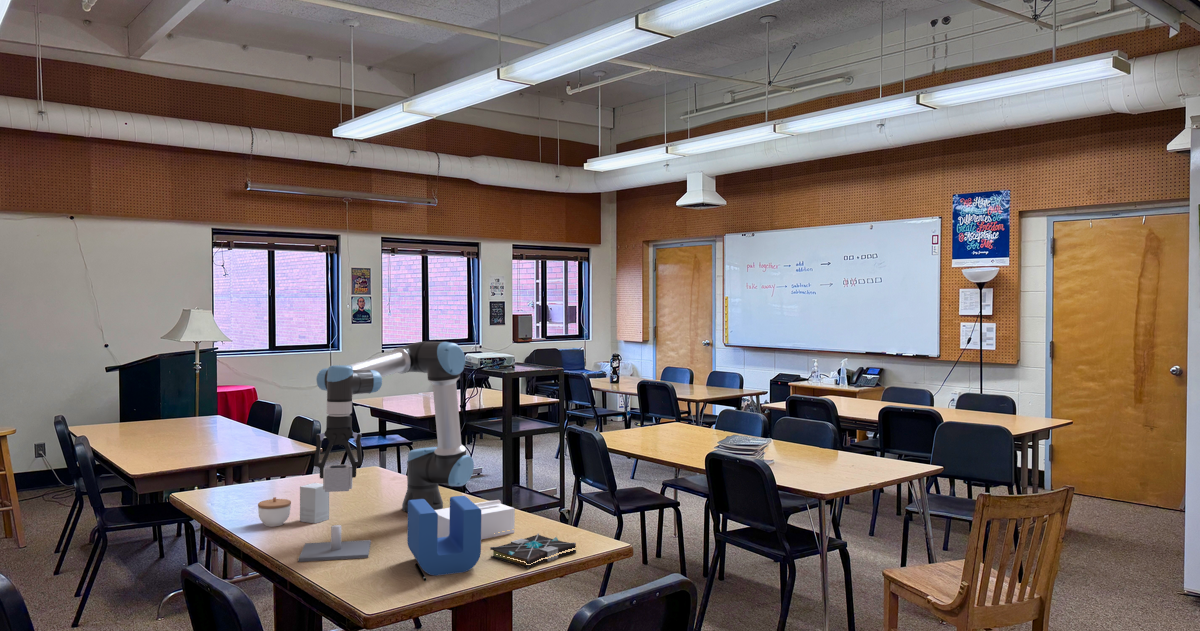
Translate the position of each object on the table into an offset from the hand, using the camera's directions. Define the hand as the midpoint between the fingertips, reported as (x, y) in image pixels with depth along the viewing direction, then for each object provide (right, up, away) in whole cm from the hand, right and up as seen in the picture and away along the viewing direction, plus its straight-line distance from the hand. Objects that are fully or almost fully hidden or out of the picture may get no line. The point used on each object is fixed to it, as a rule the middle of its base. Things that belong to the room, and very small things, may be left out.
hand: (337, 488), depth 246 cm
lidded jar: (-33, -20, +31) cm, 49 cm away
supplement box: (-21, -20, +37) cm, 46 cm away
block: (+35, -20, -12) cm, 42 cm away
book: (+61, -21, -1) cm, 65 cm away
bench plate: (0, -20, -1) cm, 20 cm away
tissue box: (+38, -21, +21) cm, 48 cm away
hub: (0, 0, 0) cm, 0 cm away
